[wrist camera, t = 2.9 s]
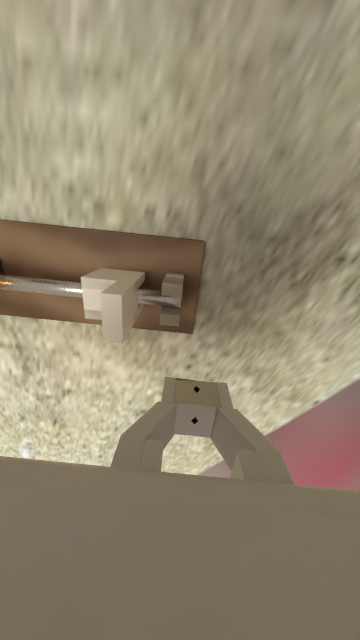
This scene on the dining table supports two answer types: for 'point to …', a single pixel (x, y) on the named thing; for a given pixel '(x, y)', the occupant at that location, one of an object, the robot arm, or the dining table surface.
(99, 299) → the sleeve
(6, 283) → the rod
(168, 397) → the robot arm
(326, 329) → the dining table surface
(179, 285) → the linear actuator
